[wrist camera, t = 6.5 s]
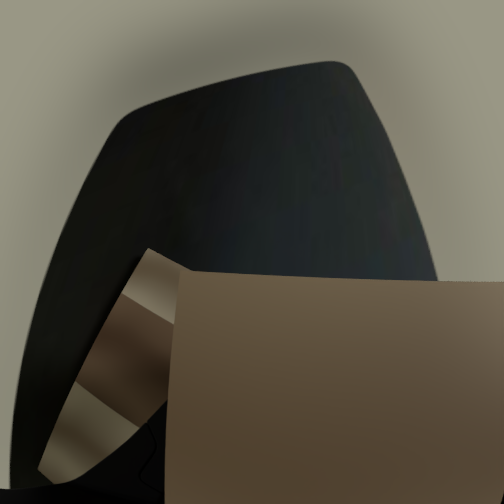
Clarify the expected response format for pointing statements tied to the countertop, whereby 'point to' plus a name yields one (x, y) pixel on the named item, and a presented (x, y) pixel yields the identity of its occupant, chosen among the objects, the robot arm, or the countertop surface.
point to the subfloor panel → (118, 373)
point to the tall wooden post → (335, 391)
